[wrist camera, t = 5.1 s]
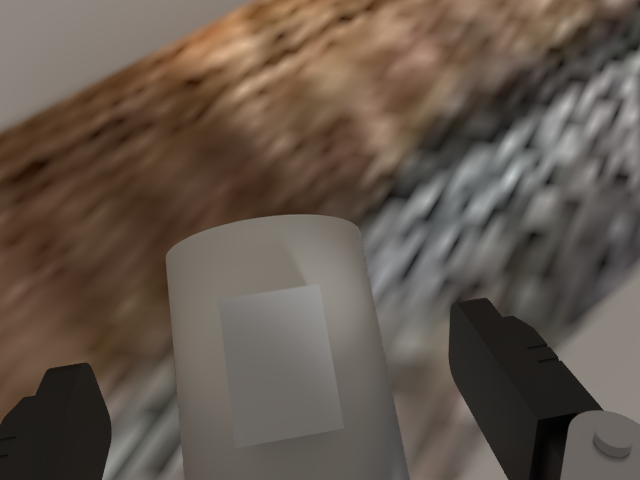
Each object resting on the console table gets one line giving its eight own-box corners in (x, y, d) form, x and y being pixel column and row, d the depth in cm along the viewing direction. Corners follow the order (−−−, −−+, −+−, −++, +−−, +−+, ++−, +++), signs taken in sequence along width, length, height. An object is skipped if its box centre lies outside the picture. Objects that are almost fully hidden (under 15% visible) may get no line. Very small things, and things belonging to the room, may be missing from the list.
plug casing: (338, 290, 18) (383, 175, 9) (370, 465, 16) (464, 537, 7) (208, 310, 18) (120, 211, 9) (228, 493, 16) (145, 603, 7)
